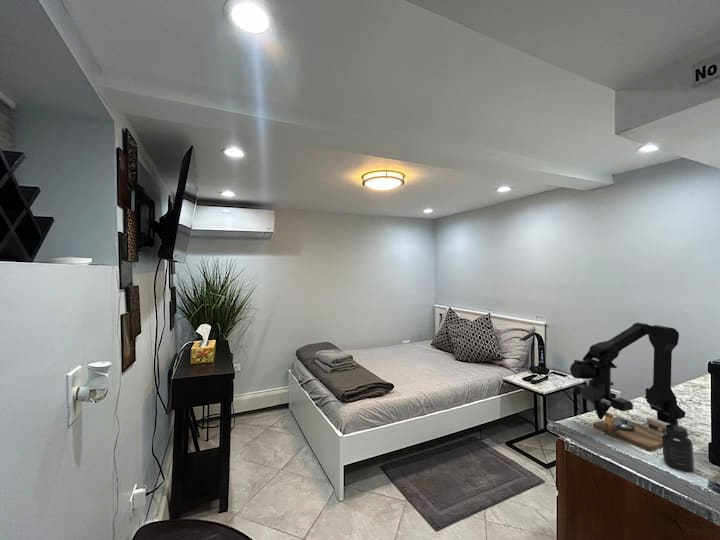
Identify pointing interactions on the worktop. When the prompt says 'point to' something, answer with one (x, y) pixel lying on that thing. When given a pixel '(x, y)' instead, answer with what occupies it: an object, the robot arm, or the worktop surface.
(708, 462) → the worktop surface
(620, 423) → the cam lever
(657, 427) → the stand
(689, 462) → the supplement bottle
